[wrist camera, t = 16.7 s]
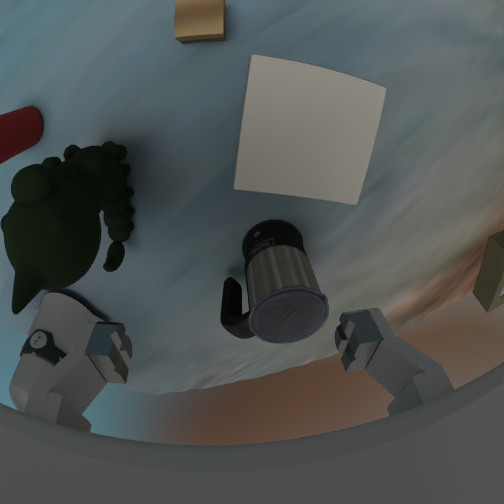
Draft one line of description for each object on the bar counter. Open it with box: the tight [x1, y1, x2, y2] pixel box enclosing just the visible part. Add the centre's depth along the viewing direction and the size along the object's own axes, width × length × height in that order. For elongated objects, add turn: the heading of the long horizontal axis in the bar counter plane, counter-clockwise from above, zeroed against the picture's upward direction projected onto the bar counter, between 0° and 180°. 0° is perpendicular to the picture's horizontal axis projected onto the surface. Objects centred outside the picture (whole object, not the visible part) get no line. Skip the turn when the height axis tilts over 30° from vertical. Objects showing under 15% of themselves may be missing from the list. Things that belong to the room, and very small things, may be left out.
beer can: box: [0, 106, 42, 164], centre depth 22 cm, size 7×7×12 cm
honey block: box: [174, 0, 225, 44], centre depth 21 cm, size 5×5×5 cm
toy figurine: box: [1, 141, 134, 314], centre depth 24 cm, size 9×19×25 cm, turn 174°
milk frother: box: [220, 220, 329, 344], centre depth 38 cm, size 14×16×15 cm
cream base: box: [234, 55, 387, 205], centre depth 30 cm, size 16×16×4 cm
